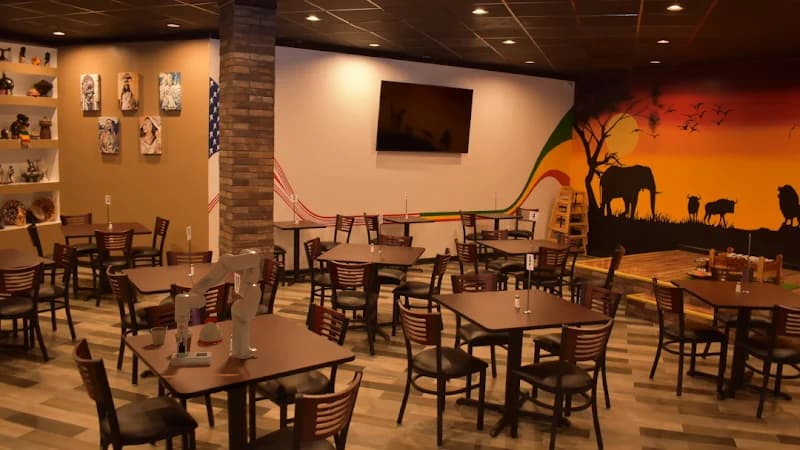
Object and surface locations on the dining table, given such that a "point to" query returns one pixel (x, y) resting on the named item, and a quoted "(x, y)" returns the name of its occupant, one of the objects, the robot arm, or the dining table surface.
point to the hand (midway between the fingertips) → (182, 351)
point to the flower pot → (158, 335)
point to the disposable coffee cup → (187, 340)
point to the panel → (192, 359)
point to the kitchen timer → (210, 332)
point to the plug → (185, 350)
